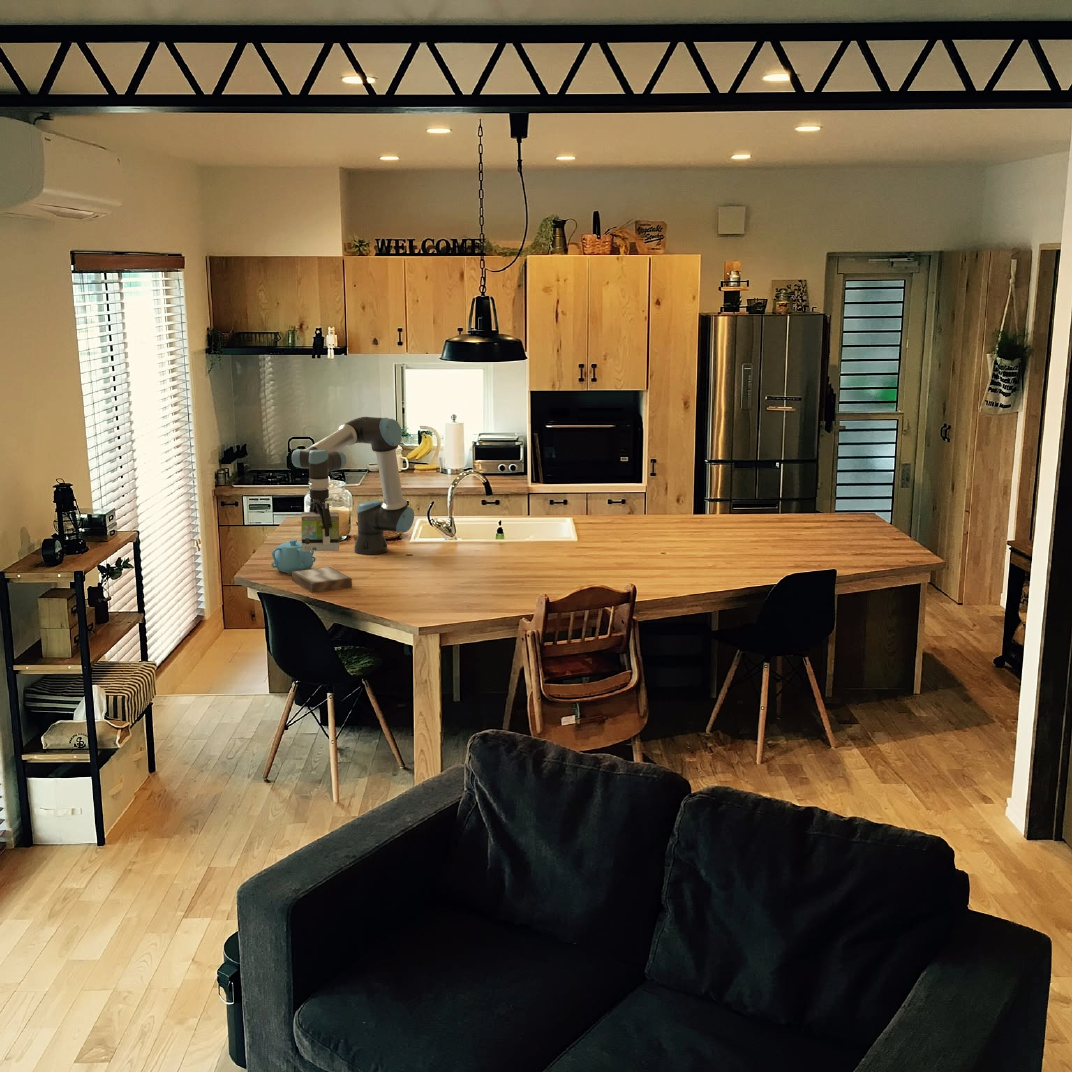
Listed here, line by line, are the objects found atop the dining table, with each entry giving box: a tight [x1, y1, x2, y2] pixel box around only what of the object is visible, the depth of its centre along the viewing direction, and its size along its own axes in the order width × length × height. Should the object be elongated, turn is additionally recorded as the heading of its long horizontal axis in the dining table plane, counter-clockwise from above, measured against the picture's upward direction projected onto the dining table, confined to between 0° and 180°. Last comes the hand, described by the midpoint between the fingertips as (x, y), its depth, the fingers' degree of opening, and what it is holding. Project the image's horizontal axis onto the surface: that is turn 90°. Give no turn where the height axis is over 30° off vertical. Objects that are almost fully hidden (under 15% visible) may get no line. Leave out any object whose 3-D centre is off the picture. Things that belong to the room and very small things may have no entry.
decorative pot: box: [270, 539, 316, 575], centre depth 485 cm, size 16×16×14 cm
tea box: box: [300, 511, 340, 552], centre depth 461 cm, size 15×10×15 cm
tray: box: [291, 566, 353, 594], centre depth 465 cm, size 17×22×4 cm
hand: (320, 541), depth 462 cm, fingers closed on tea box, 12 cm apart
